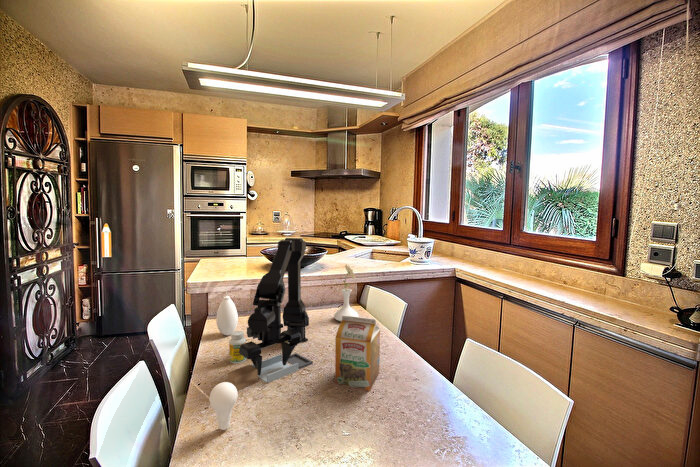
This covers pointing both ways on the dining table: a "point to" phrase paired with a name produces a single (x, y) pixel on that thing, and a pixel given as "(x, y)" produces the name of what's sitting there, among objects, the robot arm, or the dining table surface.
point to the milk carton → (357, 352)
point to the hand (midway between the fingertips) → (271, 369)
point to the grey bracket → (275, 369)
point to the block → (243, 377)
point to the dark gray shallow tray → (299, 360)
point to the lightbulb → (223, 402)
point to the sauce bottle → (227, 316)
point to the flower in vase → (346, 300)
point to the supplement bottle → (236, 347)
